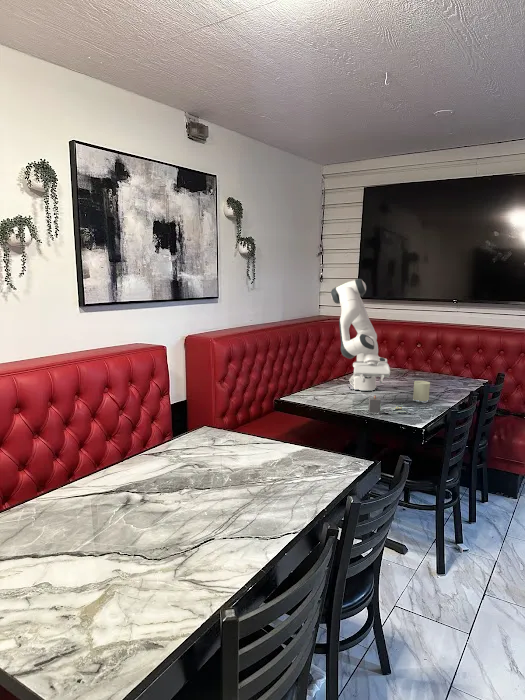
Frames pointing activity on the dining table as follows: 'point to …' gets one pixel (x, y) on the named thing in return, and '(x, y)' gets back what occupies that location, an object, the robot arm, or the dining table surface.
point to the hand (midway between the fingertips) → (372, 382)
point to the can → (421, 390)
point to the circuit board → (398, 409)
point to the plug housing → (374, 404)
